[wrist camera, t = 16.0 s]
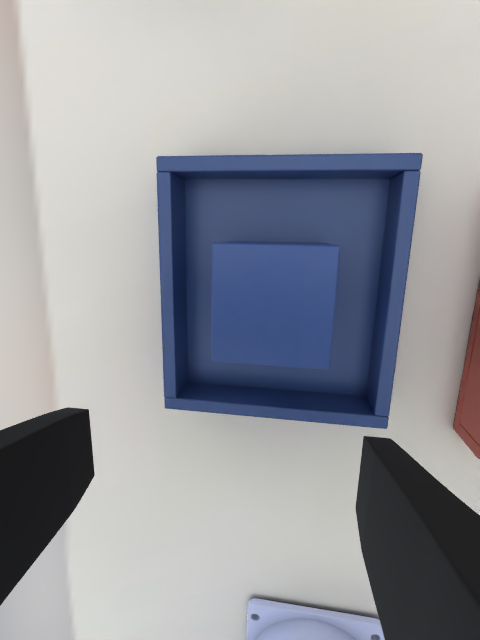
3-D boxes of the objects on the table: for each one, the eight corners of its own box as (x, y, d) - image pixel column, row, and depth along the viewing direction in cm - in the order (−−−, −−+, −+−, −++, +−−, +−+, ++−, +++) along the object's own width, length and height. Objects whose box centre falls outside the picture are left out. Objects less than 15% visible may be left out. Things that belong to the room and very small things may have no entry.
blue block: (321, 336, 17) (330, 370, 13) (231, 331, 18) (211, 361, 13) (328, 243, 16) (340, 245, 12) (232, 241, 17) (211, 243, 12)
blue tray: (374, 403, 18) (387, 429, 15) (180, 387, 19) (164, 409, 17) (403, 165, 15) (423, 152, 13) (175, 167, 17) (155, 156, 14)
